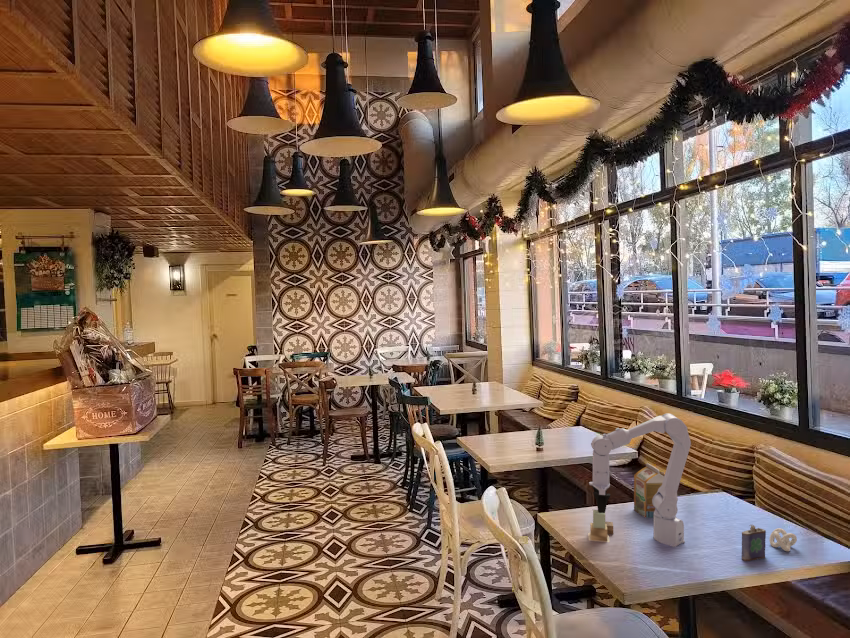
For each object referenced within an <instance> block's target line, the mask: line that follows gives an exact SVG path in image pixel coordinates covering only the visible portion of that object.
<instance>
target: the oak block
mask: <svg viewBox="0 0 850 638" xmlns="http://www.w3.org/2000/svg"><path fill="white" fill-rule="evenodd" d="M589 525H590V528H589V529H590V532H589V533H590V535H591V540H600V541H607V524H605V529H602V528H593V522H590V523H589ZM600 541H599V542H600Z"/></svg>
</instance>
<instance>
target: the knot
mask: <svg viewBox="0 0 850 638" xmlns="http://www.w3.org/2000/svg"><path fill="white" fill-rule="evenodd" d="M780 534H782V536H781V535H780ZM790 538H791V539H790ZM768 539H769V544H770V546H772V548H779V547H780V548H781V549H782V550H783V551H784V552H790V550H791V547H792V546H794V545H795V544H796V543H797V541H798V538H797V535H796V534H794V533H791V532H789V533H788V532H787V531H786V530H785V529H783V528H779V527H778V528H774V530H773V531H772V532H771V534H770V535H769V538H768ZM775 540H776V542H775Z"/></svg>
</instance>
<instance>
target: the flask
mask: <svg viewBox="0 0 850 638" xmlns="http://www.w3.org/2000/svg"><path fill="white" fill-rule="evenodd" d="M748 527H750V529H748V530H744V531H742V532H741V560H742V561H744V562H751V561H756V560H760V559H765V558H766V533H767V531H766V530H765V529H763V528H761V527H760V528H759V527H757V528H756V526H755V525H754V524H750V525H748Z"/></svg>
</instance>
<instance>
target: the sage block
mask: <svg viewBox="0 0 850 638" xmlns="http://www.w3.org/2000/svg"><path fill="white" fill-rule="evenodd" d="M605 522H606V512H605V513H599V512H598V509H592V523H593V528H602V529H605Z"/></svg>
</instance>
